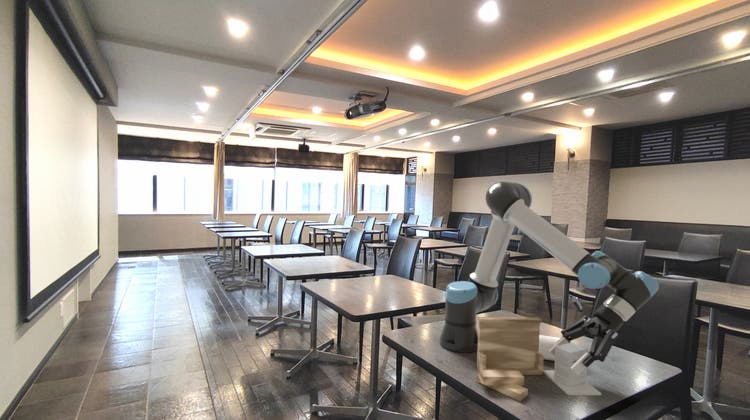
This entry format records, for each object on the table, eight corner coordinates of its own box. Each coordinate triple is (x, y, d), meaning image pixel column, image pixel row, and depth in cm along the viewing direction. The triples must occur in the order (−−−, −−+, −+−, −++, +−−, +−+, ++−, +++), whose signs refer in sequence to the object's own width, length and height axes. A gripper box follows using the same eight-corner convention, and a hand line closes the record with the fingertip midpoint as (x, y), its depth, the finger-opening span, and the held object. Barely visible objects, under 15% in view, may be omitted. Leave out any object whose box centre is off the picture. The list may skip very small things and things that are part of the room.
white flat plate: (543, 372, 118) (543, 370, 118) (572, 372, 119) (572, 370, 119) (567, 395, 104) (567, 393, 104) (601, 395, 105) (601, 393, 105)
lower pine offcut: (476, 383, 111) (476, 375, 111) (484, 378, 114) (484, 370, 114) (519, 403, 101) (520, 394, 101) (527, 397, 104) (527, 389, 104)
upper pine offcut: (483, 384, 105) (483, 376, 105) (479, 377, 109) (479, 369, 109) (523, 385, 106) (524, 377, 106) (518, 378, 110) (518, 370, 110)
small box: (570, 374, 116) (571, 341, 116) (587, 382, 111) (588, 348, 111) (553, 378, 113) (554, 345, 112) (569, 387, 108) (571, 352, 107)
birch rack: (476, 367, 120) (477, 316, 120) (536, 367, 121) (538, 317, 121) (480, 374, 116) (482, 321, 115) (543, 374, 117) (545, 322, 116)
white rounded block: (571, 367, 122) (572, 344, 122) (538, 362, 126) (539, 339, 126) (566, 353, 133) (567, 332, 133) (537, 349, 137) (538, 328, 137)
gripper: (652, 336, 100) (595, 391, 100) (596, 310, 124) (550, 354, 123) (634, 317, 100) (577, 372, 99) (581, 294, 123) (535, 338, 123)
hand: (562, 362), depth 111 cm, fingers open, 11 cm apart
